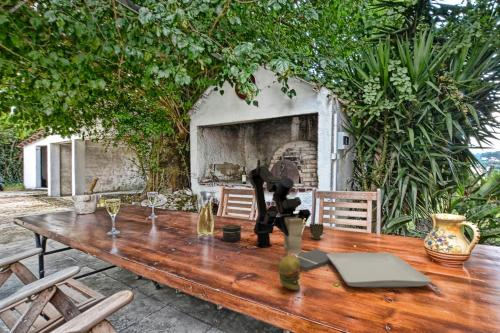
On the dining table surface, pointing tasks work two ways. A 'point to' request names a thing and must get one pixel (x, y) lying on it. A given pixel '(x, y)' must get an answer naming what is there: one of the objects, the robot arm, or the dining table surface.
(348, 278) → the square plate
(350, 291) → the dining table surface
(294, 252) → the birch post
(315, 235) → the cup
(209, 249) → the dining table surface
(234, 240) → the jar
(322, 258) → the charcoal board
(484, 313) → the dining table surface
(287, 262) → the hamburger
